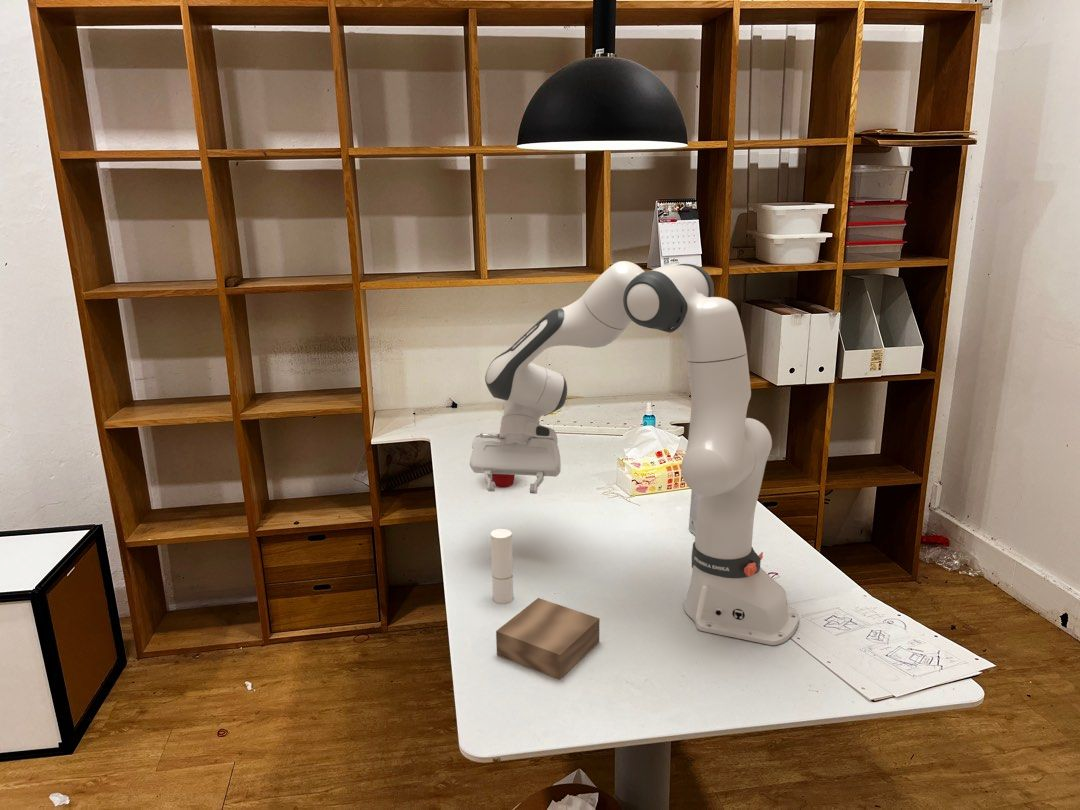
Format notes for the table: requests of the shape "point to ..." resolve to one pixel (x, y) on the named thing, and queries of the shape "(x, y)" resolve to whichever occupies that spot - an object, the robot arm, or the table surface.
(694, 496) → the ink cartridge box
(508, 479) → the plastic cup
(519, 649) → the walnut stand
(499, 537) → the tube
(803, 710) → the table surface
